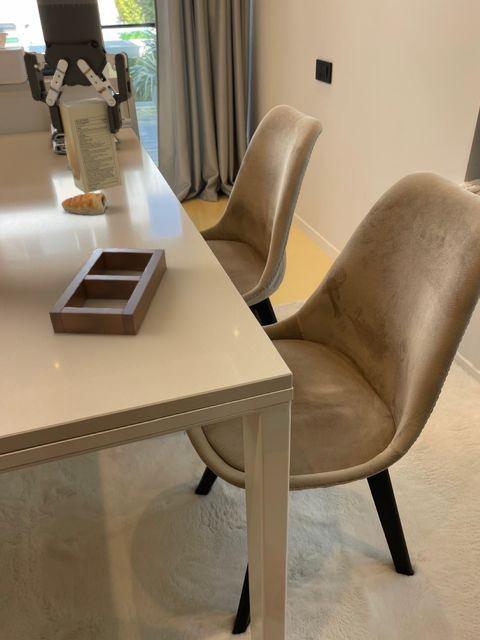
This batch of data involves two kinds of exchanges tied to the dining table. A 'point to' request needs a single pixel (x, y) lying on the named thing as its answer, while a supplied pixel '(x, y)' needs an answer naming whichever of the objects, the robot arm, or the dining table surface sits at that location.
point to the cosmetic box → (90, 144)
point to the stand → (110, 292)
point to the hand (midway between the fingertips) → (88, 132)
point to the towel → (61, 141)
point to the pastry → (86, 204)
